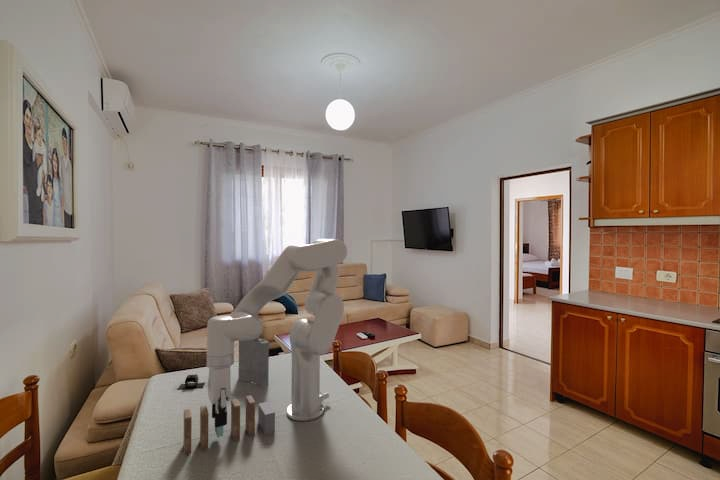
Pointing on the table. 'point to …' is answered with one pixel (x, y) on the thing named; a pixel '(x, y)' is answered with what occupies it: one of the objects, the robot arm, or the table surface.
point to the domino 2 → (204, 427)
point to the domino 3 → (218, 429)
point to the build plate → (191, 385)
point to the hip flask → (254, 361)
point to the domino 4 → (235, 419)
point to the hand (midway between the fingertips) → (219, 420)
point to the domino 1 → (187, 431)
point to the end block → (266, 417)
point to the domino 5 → (250, 415)
